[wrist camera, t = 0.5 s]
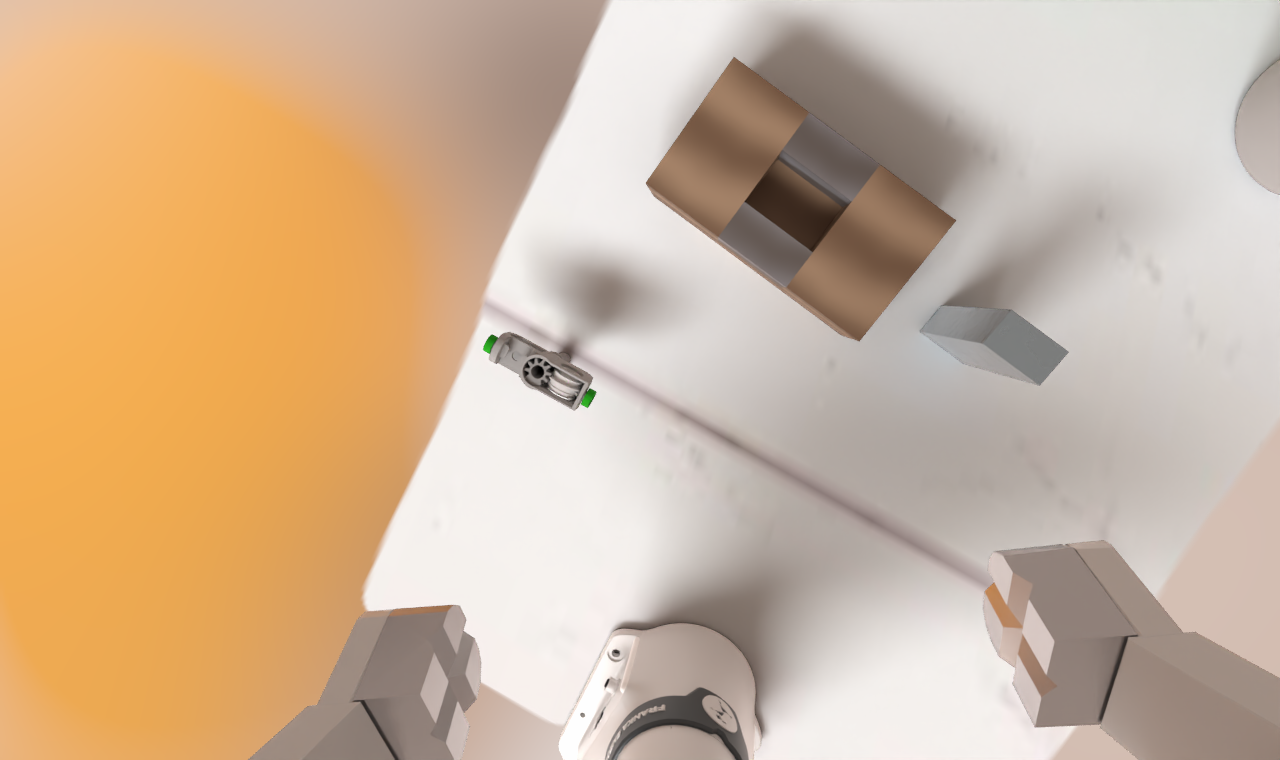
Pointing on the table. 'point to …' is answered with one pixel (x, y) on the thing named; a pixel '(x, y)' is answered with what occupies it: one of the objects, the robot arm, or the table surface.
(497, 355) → the mechanical component
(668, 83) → the table surface
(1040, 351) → the tall rectangular metal block
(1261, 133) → the cylinder vase
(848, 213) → the brown boxy piece
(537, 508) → the table surface
